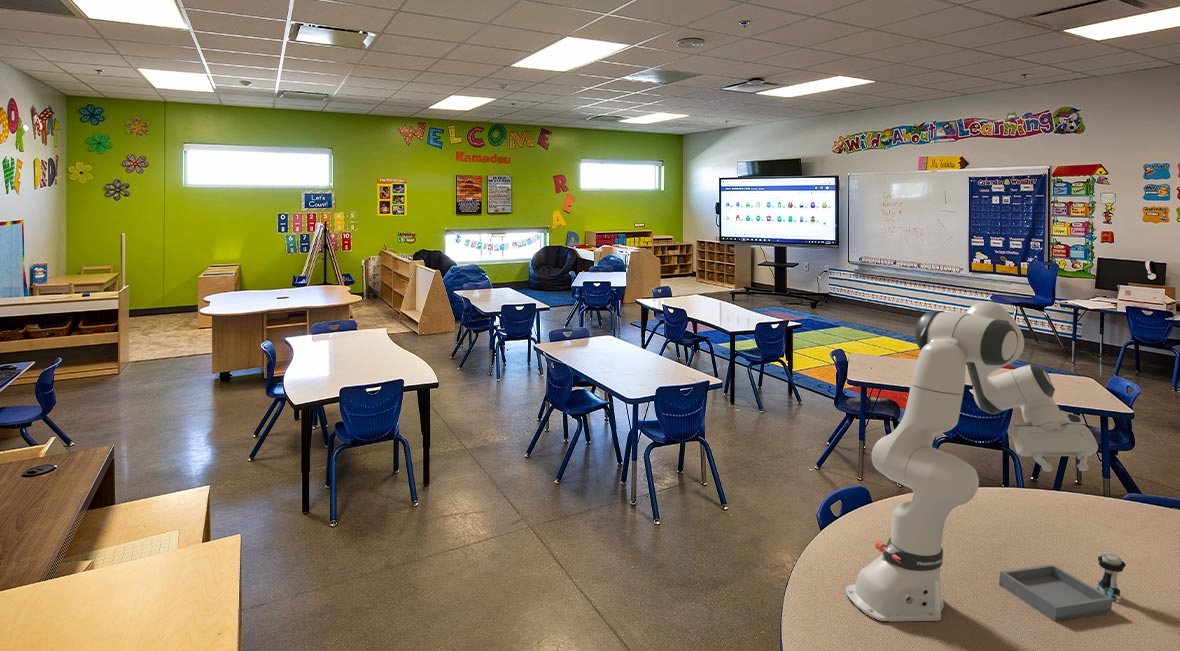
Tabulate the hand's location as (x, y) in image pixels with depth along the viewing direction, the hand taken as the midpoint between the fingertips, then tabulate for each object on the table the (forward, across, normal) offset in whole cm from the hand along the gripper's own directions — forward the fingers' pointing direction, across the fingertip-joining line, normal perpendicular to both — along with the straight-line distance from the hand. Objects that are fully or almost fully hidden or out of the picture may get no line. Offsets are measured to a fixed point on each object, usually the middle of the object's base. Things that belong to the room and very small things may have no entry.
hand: (1066, 470), depth 175 cm
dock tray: (+30, -11, +8) cm, 33 cm away
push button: (+30, +3, +8) cm, 31 cm away
